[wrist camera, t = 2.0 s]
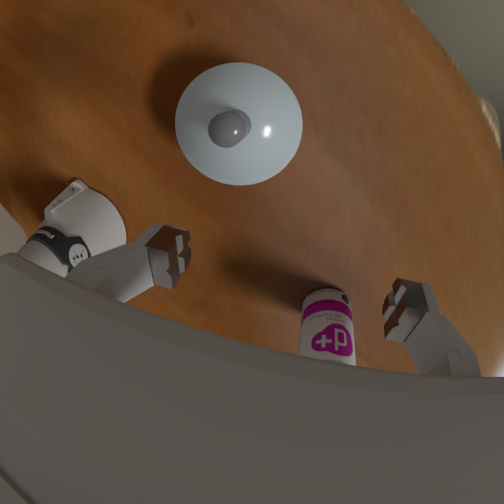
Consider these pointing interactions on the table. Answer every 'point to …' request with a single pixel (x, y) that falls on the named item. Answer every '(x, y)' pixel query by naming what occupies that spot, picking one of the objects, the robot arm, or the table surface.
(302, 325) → the supplement can
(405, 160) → the table surface
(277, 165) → the lid
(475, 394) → the robot arm
